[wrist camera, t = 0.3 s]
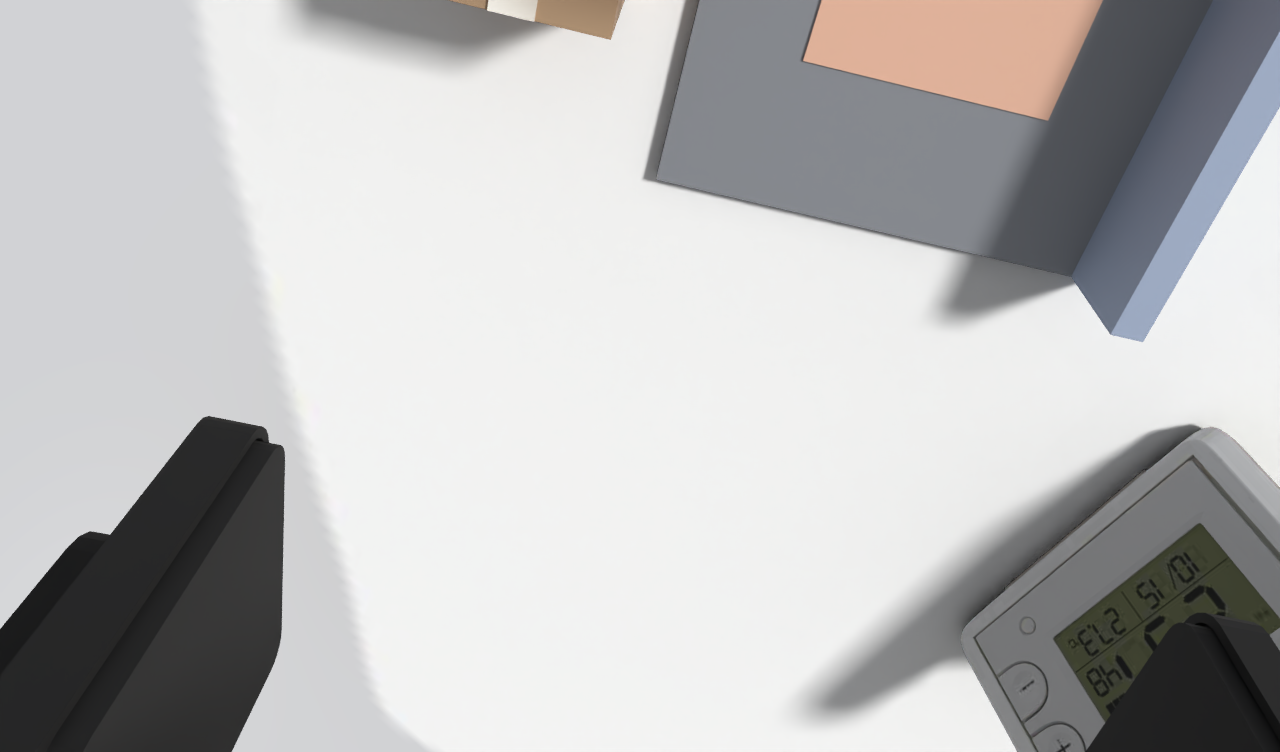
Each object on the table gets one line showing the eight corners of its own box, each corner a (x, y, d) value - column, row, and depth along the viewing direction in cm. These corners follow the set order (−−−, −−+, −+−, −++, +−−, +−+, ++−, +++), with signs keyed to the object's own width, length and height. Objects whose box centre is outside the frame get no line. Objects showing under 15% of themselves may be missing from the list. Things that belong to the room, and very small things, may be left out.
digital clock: (1218, 397, 42) (1358, 576, 33) (1325, 517, 45) (1480, 711, 36) (908, 591, 48) (953, 783, 39) (1019, 683, 51) (1085, 881, 42)
